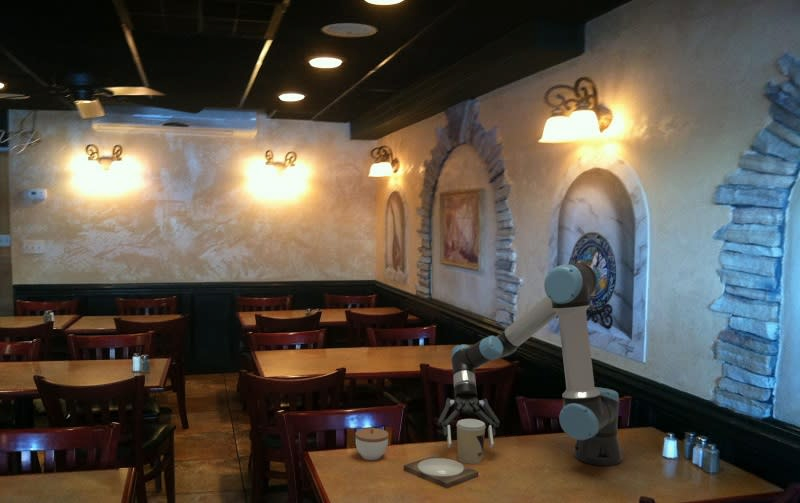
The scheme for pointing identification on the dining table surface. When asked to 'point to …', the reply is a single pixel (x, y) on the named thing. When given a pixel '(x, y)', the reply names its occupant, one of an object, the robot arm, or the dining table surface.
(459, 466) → the serving board
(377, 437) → the lidded jar
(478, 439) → the coffee cup
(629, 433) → the dining table surface
